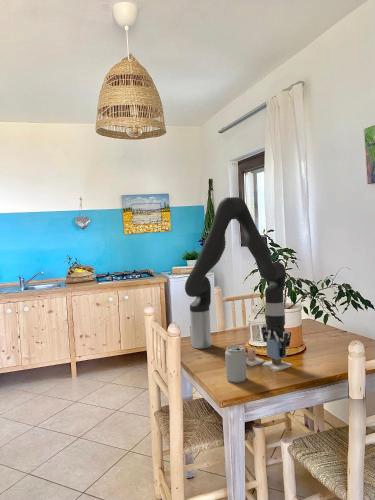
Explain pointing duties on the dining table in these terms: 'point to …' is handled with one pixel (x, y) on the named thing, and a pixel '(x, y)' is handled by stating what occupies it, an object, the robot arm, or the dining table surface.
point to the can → (235, 364)
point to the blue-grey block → (273, 349)
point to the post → (276, 364)
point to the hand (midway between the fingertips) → (276, 354)
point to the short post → (252, 358)
